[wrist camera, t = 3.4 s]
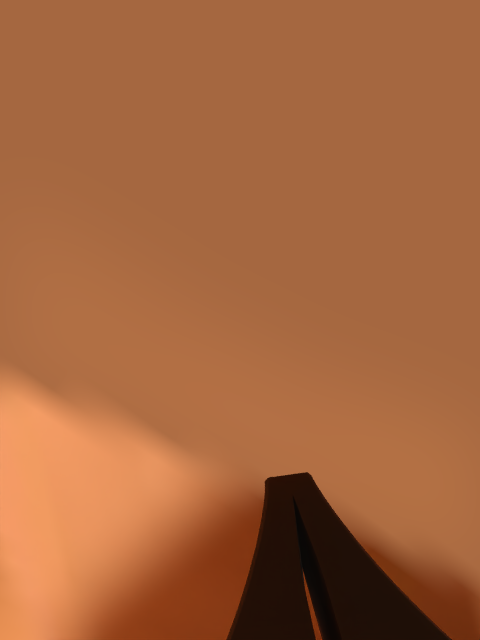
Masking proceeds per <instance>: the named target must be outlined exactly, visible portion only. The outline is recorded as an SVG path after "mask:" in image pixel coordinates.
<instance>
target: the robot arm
mask: <svg viewBox="0 0 480 640" xmlns="http://www.w3.org/2000/svg"><path fill="white" fill-rule="evenodd" d="M302 568H303V569H302ZM303 572H304V575H305V579H306V582H307V586H308V590H309V593H310V597H311V600H312V604H313V607H314V611H315V615H316V618H317V622H318V625H319V629H320V632H321V636H322V639H323V640H452V639H450V638H449V637H448V636H447V635H446V634H445V633H444V632H443V631H442V630H441V629H439V628H438V627H437V626H436V625H435V624H434V623H433V622H432V621H431V620H430V619H429V618H428V617H427V616H426V615H425V614H424V613H423V612H422V611H421V610H420V609H419V608H418V607H417V606H416V605H415V604H414V603H413V602H412V601H411V600H410V599H409V598H408V597H407V596H406V595H405V594H404V593H403V592H402V591H401V590H400V589H399V588H398V587H397V586H396V584H395V583H394V582H393V581H392V580H391V579H390V578H389V577H388V576H387V575H386V574H385V573H384V571H383V570H382V569H381V568H380V567H379V566H378V565H377V564H376V562H375V561H374V560H373V559H372V558H371V557H370V556H369V554H368V553H367V552H366V551H365V550H364V549H363V547H362V546H361V545H360V544H359V543H358V541H357V540H356V539H355V538H354V536H353V535H352V534H351V533H350V531H349V530H348V529H347V527H346V526H345V525H344V524H343V522H342V521H341V520H340V518H339V517H338V516H337V514H336V513H335V512H334V510H333V509H332V508H331V506H330V505H329V503H328V502H327V500H326V499H325V497H324V496H323V494H322V493H321V491H320V490H319V488H318V487H317V485H316V483H315V482H314V480H313V478H312V476H311V475H310V474H309V473H307V472H306V473H298V474H291V475H285V476H277V477H270V478H267V480H266V481H265V498H264V507H263V513H262V520H261V525H260V530H259V534H258V539H257V544H256V548H255V552H254V556H253V560H252V563H251V567H250V571H249V575H248V578H247V582H246V585H245V588H244V591H243V595H242V598H241V601H240V604H239V607H238V610H237V613H236V616H235V618H234V621H233V624H232V627H231V629H230V632H229V635H228V637H227V640H316V639H315V634H314V630H313V625H312V621H311V616H310V611H309V606H308V602H307V597H306V592H305V586H304V578H303Z"/></svg>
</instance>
